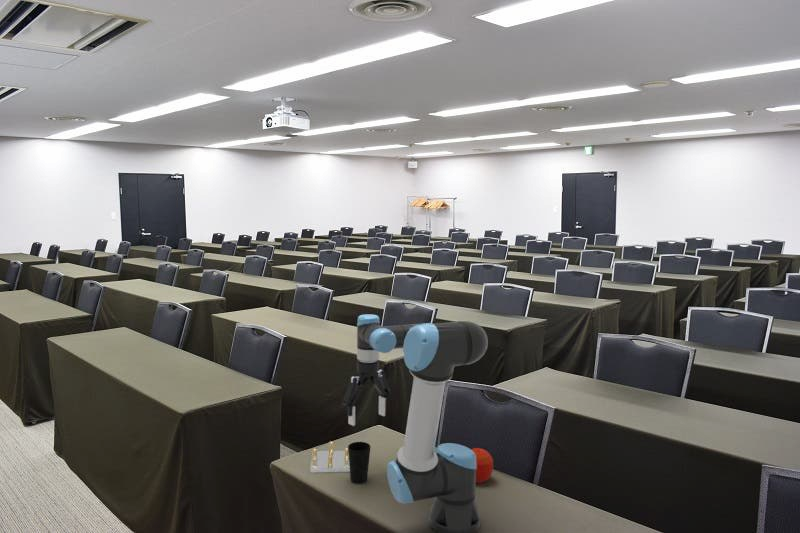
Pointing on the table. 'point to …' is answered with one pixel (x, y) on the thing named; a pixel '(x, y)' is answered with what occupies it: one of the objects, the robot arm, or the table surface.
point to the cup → (359, 461)
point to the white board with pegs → (330, 460)
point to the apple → (483, 465)
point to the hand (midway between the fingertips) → (367, 419)
